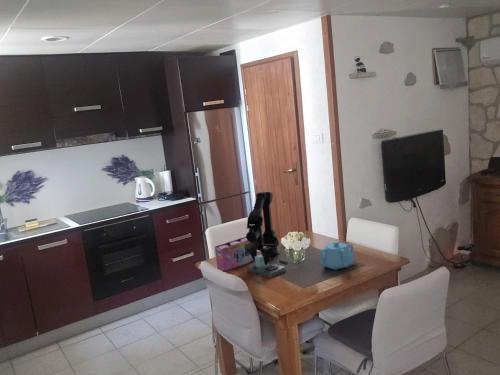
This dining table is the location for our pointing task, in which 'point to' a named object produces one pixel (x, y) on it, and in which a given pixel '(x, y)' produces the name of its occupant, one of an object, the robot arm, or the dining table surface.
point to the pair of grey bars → (281, 261)
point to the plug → (259, 261)
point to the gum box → (232, 254)
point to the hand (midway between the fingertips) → (260, 263)
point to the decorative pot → (337, 255)
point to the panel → (267, 270)
